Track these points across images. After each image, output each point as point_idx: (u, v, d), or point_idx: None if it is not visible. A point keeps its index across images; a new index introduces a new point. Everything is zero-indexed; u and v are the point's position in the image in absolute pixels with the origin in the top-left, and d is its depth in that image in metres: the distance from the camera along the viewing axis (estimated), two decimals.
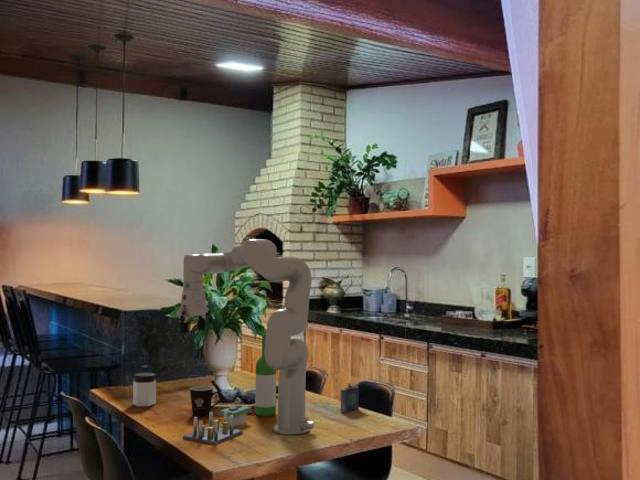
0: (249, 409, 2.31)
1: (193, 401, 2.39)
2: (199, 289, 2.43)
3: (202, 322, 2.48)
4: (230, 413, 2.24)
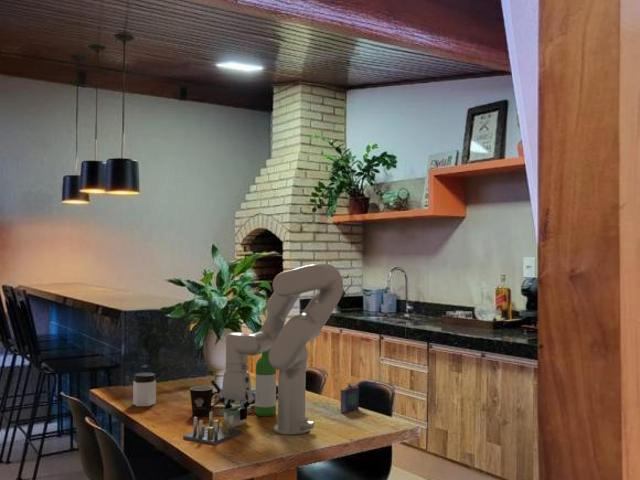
0: (249, 409, 2.31)
1: (193, 401, 2.39)
2: None
3: None
4: (230, 413, 2.24)
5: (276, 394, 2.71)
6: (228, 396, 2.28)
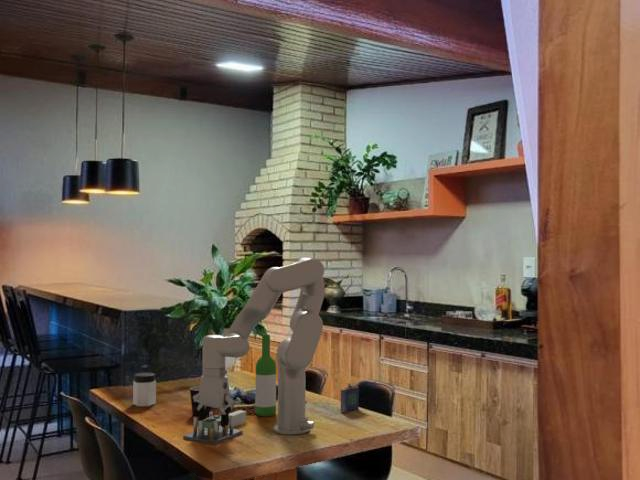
0: None
1: (193, 401, 2.39)
2: None
3: (205, 412, 2.17)
4: (207, 424, 2.09)
5: None
6: (205, 403, 2.14)
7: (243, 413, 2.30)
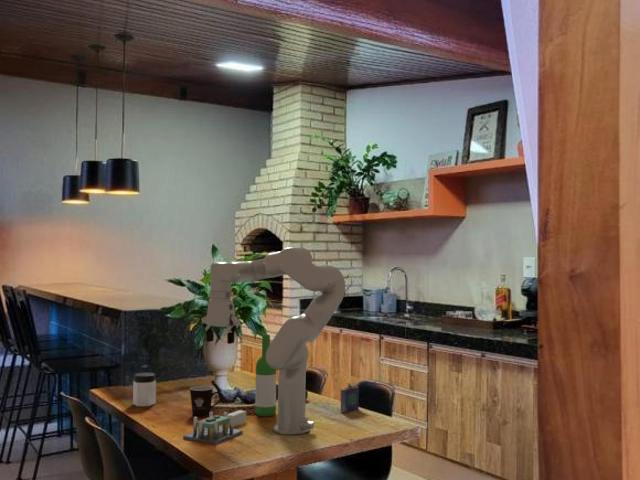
0: (228, 420, 2.16)
1: (193, 401, 2.39)
2: None
3: (212, 333, 2.39)
4: (207, 424, 2.09)
5: None
6: (212, 323, 2.35)
7: (243, 413, 2.30)
